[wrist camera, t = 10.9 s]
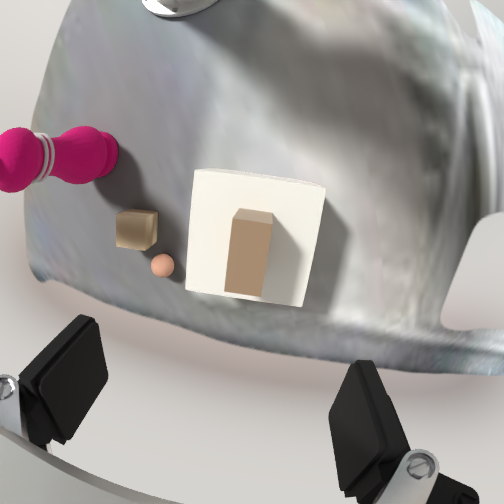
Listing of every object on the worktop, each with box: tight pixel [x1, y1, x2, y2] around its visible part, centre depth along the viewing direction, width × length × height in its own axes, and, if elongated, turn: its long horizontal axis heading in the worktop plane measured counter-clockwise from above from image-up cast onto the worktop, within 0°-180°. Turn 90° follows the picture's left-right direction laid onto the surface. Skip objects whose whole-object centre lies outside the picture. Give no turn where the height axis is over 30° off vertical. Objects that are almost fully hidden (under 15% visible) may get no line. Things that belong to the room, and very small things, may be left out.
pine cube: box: [116, 209, 158, 251], centre depth 33 cm, size 4×4×4 cm
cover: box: [186, 168, 326, 307], centre depth 28 cm, size 12×12×13 cm
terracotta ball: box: [151, 254, 174, 277], centre depth 35 cm, size 3×3×3 cm
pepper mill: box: [0, 126, 118, 193], centre depth 23 cm, size 7×7×20 cm
